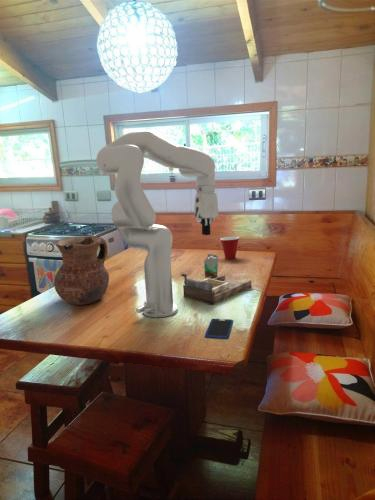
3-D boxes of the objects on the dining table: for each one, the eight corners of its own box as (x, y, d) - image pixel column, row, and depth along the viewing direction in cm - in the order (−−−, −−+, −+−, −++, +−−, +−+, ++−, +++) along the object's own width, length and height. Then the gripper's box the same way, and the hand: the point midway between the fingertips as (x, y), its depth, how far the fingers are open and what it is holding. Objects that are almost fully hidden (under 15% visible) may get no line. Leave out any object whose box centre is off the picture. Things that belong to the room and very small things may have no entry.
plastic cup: (229, 254, 212) (228, 234, 209) (243, 257, 204) (243, 236, 201) (216, 258, 205) (215, 237, 202) (230, 261, 197) (230, 239, 194)
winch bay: (211, 305, 133) (210, 281, 131) (180, 297, 144) (179, 274, 142) (251, 287, 152) (251, 265, 150) (221, 280, 163) (221, 260, 161)
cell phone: (233, 321, 120) (233, 319, 119) (228, 340, 106) (228, 338, 106) (211, 320, 121) (211, 318, 121) (204, 338, 108) (204, 336, 108)
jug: (89, 311, 133) (82, 245, 128) (44, 306, 140) (36, 244, 135) (120, 292, 153) (115, 234, 148) (79, 288, 160) (73, 233, 155)
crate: (211, 298, 136) (211, 289, 136) (190, 293, 144) (190, 284, 143) (229, 290, 144) (229, 282, 143) (208, 286, 151) (207, 278, 151)
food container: (218, 281, 162) (217, 259, 160) (204, 281, 164) (203, 259, 161) (221, 273, 174) (220, 253, 172) (208, 273, 175) (207, 253, 173)
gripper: (199, 190, 137) (200, 237, 141) (224, 189, 148) (224, 233, 151) (185, 190, 143) (187, 236, 146) (210, 189, 153) (211, 231, 156)
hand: (206, 234), depth 149 cm, fingers closed
